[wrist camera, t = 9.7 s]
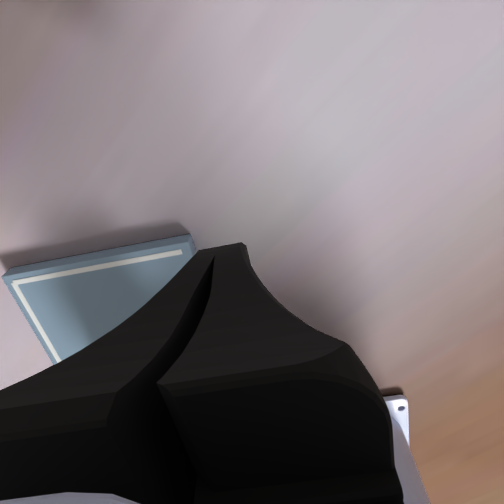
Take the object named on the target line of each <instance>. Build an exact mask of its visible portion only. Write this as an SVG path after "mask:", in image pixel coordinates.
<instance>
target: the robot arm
mask: <svg viewBox="0 0 504 504" xmlns="http://www.w3.org/2000/svg"><path fill="white" fill-rule="evenodd" d="M399 406H400V407H399ZM0 504H431V503H430V500H429V498H428V495H427V492H426V490H425V487H424V484H423V482H422V479H421V477H420V474H419V471H418V469H417V466H416V464H415V461H414V458H413V456H412V453H411V450H410V448H409V417H408V401H407V398H406V397H405V396H404V395H394V396H387V397H383V396H382V394H381V393H380V391H379V389H378V387H377V385H376V383H375V382H374V380H373V378H372V377H371V375H370V374H369V372H368V371H367V369H366V368H365V366H364V365H363V363H362V362H361V360H360V359H359V358H358V356H357V355H356V354H355V352H354V351H353V350H352V348H351V347H350V346H349V345H348V344H347V343H345V342H343V341H340V340H338V339H336V338H333V337H331V336H329V335H326V334H324V333H322V332H319V331H317V330H315V329H314V328H312V327H310V326H309V325H307V324H306V323H304V322H303V321H302V320H300V319H299V318H297V317H296V316H295V315H293V314H292V313H291V312H289V311H288V310H287V309H286V308H285V307H284V306H283V305H281V304H280V303H279V302H278V301H277V300H276V299H275V298H274V297H273V296H272V295H271V293H270V292H269V291H268V290H267V289H266V287H265V286H264V285H263V284H262V282H261V281H260V279H259V278H258V277H257V275H256V273H255V272H254V270H253V268H252V267H251V264H250V260H249V255H248V251H247V247H246V245H245V244H243V243H242V242H241V243H235V244H230V245H225V246H219V247H214V248H208V249H203V250H199V251H198V252H197V253H196V254H195V255H194V256H193V257H192V258H191V259H190V260H189V261H188V262H187V263H186V264H185V265H184V266H183V267H182V268H181V270H180V271H179V272H178V273H177V274H176V275H175V276H174V277H173V278H172V279H171V280H170V281H169V282H168V283H167V284H166V285H165V286H164V287H163V288H162V289H161V290H160V291H159V292H158V293H156V294H155V295H154V296H153V297H152V298H151V299H150V300H149V301H148V302H147V303H146V304H145V305H143V306H142V307H141V308H140V309H139V310H138V311H136V312H135V313H134V314H133V315H131V316H130V317H129V318H127V319H126V320H125V321H123V322H122V323H121V324H120V325H118V326H117V327H115V328H114V329H113V330H111V331H110V332H108V333H106V334H105V335H103V336H102V337H100V338H99V339H97V340H96V341H94V342H93V343H91V344H89V345H88V346H86V347H85V348H83V349H82V350H80V351H78V352H76V353H75V354H73V355H71V356H69V357H68V358H66V359H64V360H62V361H60V362H59V363H57V364H55V365H53V366H51V367H49V368H47V369H45V370H43V371H41V372H39V373H37V374H35V375H33V376H31V377H29V378H27V379H25V380H22V381H20V382H18V383H16V384H13V385H11V386H9V387H7V388H4V389H2V390H0Z"/></svg>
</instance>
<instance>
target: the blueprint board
mask: <svg viewBox="0 0 504 504" xmlns="http://www.w3.org/2000/svg"><path fill="white" fill-rule="evenodd" d="M195 254H196V250H195V247H194V243H193V240H192V237H191V234H187V235H182V236H176V237H171V238H166V239H161V240H155V241H150V242H145V243H139V244H134V245H129V246H124V247H118V248H113V249H108V250H103V251H97V252H92V253H87V254H82V255H76V256H71V257H66V258H61V259H55V260H50V261H45V262H39V263H34V264H29V265H24V266H18V267H13V268H10V269H9V270H8V271H7V272H6V273H5V274H4V275H3V276H2V279H3V281H4V282H5V284H6V286H7V287H8V289H9V291H10V292H11V294H12V296H13V297H14V299H15V301H16V302H17V304H18V306H19V307H20V309H21V311H22V312H23V314H24V316H25V317H26V319H27V321H28V323H29V324H30V326H31V328H32V329H33V331H34V333H35V334H36V336H37V338H38V339H39V341H40V343H41V344H42V346H43V348H44V349H45V351H46V353H47V354H48V356H49V358H50V359H51V361H52V363H53V364H54V365H55V364H57V363H59V362H60V361H62V360H64V359H66V358H68V357H69V356H71V355H73V354H75V353H76V352H78V351H80V350H82V349H83V348H85V347H86V346H88V345H89V344H91V343H93V342H94V341H96V340H97V339H99V338H100V337H102V336H103V335H105V334H106V333H108V332H110V331H111V330H113V329H114V328H115V327H117V326H118V325H120V324H121V323H122V322H123V321H125V320H126V319H127V318H129V317H130V316H131V315H133V314H134V313H135V312H136V311H138V310H139V309H140V308H141V307H142V306H143V305H145V304H146V303H147V302H148V301H149V300H150V299H151V298H152V297H153V296H154V295H155V294H156V293H158V292H159V291H160V290H161V289H162V288H163V287H164V286H165V285H166V284H167V283H168V282H169V281H170V280H171V279H172V278H173V277H174V276H175V275H176V274H177V273H178V272H179V271H180V270H181V268H182V267H183V266H184V265H185V264H186V263H187V262H188V261H189V260H190V259H191V258H192V257H193V256H194V255H195Z"/></svg>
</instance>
